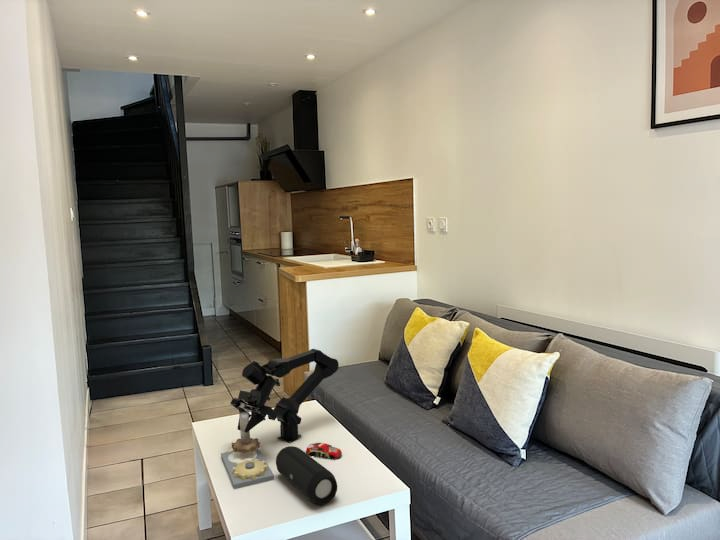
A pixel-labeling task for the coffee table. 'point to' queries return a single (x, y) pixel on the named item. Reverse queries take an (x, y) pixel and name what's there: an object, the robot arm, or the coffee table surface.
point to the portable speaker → (306, 475)
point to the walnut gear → (245, 437)
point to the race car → (323, 451)
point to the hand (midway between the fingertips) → (241, 431)
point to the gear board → (248, 481)
